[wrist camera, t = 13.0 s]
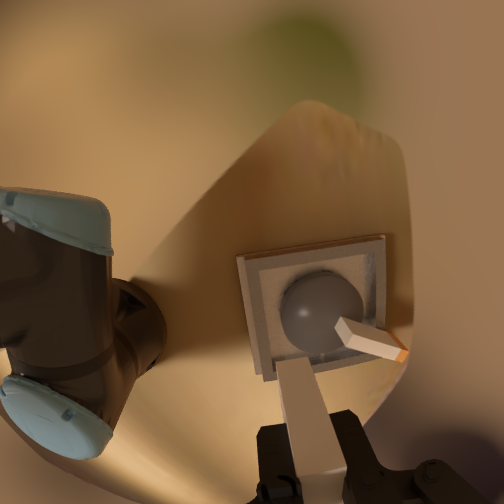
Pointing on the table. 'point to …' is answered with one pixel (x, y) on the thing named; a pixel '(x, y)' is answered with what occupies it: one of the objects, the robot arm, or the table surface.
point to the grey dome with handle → (332, 318)
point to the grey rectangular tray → (292, 269)
